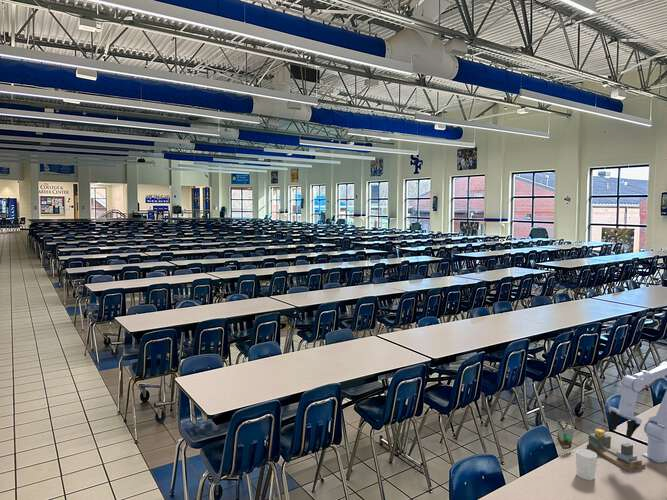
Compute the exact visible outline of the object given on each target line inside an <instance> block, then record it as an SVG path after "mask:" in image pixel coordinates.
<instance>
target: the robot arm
mask: <svg viewBox="0 0 667 500" xmlns="http://www.w3.org/2000/svg"><path fill="white" fill-rule="evenodd" d="M661 377H663V378H664V380H666V382H667V360H665V361H662V362H659V365H658V366H657V367H655V368H653V369H651V370H644V369H642V370H640V372H637V373H634V374H632V375H629V374H626V375H624V376H623V377H622V379H621V380H620V385H621V389H620V390H621V395H620V399H619V405H618V408H616V407H613V406H609V408H608V411H609V412H608V413H607V414H608V417H609V419H610V420H609V421H610V430H612V431H616V430H617V428H618V424H619V421H620V419H621V417H622V418H625V419H627V420H626V425H627V427H626V428H627V429H626V433H625V437H626V438H632V436H633V434H634V433H635V431H636V430H637V429H638V428H639V427H640V426H641V425H642V421H643V420H642V419H641V418H640V417H637V416H635V415H634V412H635V406H636V403H637V399H638V394H639V392H641V390H643V388H645V386H647V385H650V384H653V382H654V380H656V379H658V378H661ZM643 432H644V433H645V434H646V437H647V449H646V450H647V452H644V453H642V456H644V457H646V458H648V459H650V460H652V461H654V462H656V463H657V464H658V463H659V464H661V463H665V462H666V463H667V389H666V391H665V392H664V396H663V397H662V400H661V403H660V406H659V407H658V410H657V412H656V415H653V416H650V417H648V419H647V421H646V422H645V424H644V426H643Z"/></svg>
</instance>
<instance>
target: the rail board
mask: <svg viewBox="0 0 667 500" xmlns="http://www.w3.org/2000/svg"><path fill="white" fill-rule="evenodd" d="M611 441H612V436H611V435H609V434H607V433H605V434H603V437H598V436H597V433H596V432H593V433H588V444H586V449H588V450H591V451H593V452H595V453H596V454H597V455H599V456H600V457H602V458H604V459H606V460H607V461H609V462H611V463H612V464H615V465H617V467H619V468H622V469H623V470H625V471H627V472H629V471H634V470H640V469H645V468H646V464H645V463H644V462H643V460H642V459H641V458H640V459H637V460H634V461H630V463H628V462H626V461H624V460H622V459H620V458H618V457H617V456H616V454H617V451H620V450H619V449H617V448H616V447H613V446H612V445H611V443H612V442H611Z"/></svg>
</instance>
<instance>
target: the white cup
mask: <svg viewBox="0 0 667 500" xmlns="http://www.w3.org/2000/svg"><path fill="white" fill-rule="evenodd" d="M597 459H598V454H597V453H595V452H593V451H592V450H590V449H588V448H577V449H576V450H575V464H576V468H575V469H576V475H577V476H578V477H579V478H580V479H582V480H587V481H592V480H594V479H595V478H596V477H595V476H596V471H597V462H598V461H597Z"/></svg>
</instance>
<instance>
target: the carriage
mask: <svg viewBox="0 0 667 500" xmlns="http://www.w3.org/2000/svg"><path fill="white" fill-rule="evenodd" d="M620 446H621V447H620V450H619V451H617V454H616V456H617V457H618V458H620V459H622V460H624V461H626V462H628V463H630V461H634V460H638V455H636V454H634V445H633V444H631V443H630V442H627V443H621V444H620Z"/></svg>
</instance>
